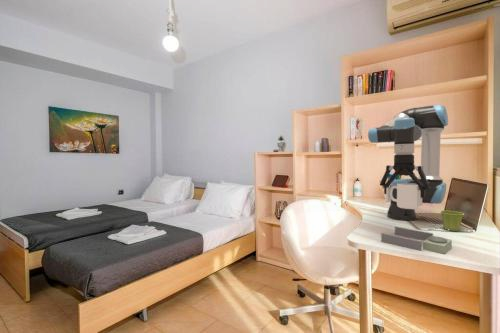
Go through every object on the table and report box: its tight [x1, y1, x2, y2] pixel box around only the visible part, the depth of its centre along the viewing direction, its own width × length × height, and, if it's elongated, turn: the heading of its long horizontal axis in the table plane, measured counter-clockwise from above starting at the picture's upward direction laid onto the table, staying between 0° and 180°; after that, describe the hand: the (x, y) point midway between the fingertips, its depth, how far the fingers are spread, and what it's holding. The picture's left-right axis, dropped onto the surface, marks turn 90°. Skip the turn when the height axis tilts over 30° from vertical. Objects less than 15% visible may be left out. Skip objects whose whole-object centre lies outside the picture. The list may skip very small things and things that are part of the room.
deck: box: [380, 226, 453, 255], centre depth 110 cm, size 16×22×4 cm
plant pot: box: [439, 210, 465, 232], centre depth 128 cm, size 9×9×9 cm
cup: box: [390, 183, 420, 210], centre depth 113 cm, size 8×12×10 cm
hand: (403, 203), depth 113 cm, fingers closed on cup, 12 cm apart
